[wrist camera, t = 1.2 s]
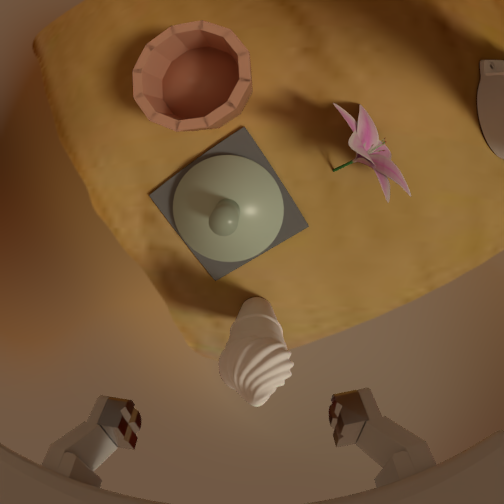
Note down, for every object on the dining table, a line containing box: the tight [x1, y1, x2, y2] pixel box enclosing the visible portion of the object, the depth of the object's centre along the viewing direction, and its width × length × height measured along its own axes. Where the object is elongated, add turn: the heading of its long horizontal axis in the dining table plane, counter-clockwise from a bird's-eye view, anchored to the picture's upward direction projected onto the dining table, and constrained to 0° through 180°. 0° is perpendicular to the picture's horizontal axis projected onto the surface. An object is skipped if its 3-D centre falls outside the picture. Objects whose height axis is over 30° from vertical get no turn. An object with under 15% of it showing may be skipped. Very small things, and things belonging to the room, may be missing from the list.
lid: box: [173, 155, 284, 262], centre depth 31 cm, size 13×13×5 cm
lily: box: [333, 103, 411, 202], centre depth 27 cm, size 12×12×10 cm
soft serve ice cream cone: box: [219, 297, 294, 407], centre depth 32 cm, size 8×8×16 cm
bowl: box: [132, 20, 253, 131], centre depth 24 cm, size 11×11×7 cm
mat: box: [149, 127, 309, 281], centre depth 33 cm, size 14×14×1 cm
